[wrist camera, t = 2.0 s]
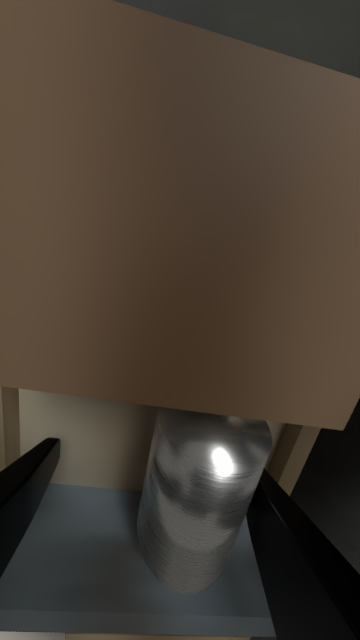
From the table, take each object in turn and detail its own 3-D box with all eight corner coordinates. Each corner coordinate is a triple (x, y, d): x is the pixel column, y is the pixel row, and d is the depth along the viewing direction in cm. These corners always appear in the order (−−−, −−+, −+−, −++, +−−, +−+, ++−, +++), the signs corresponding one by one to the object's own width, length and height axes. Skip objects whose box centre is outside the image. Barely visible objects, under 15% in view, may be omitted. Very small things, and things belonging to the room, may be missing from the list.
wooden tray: (389, 186, 7) (669, 86, 3) (231, 570, 13) (258, 708, 9) (-3, 83, 6) (-371, -303, 2) (16, 559, 11) (-66, 714, 7)
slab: (327, 196, 6) (496, 122, 3) (270, 360, 8) (343, 430, 5) (74, 132, 6) (-66, -57, 2) (66, 327, 7) (-25, 383, 4)
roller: (196, 371, 9) (282, 418, 7) (176, 457, 10) (243, 517, 8) (133, 409, 6) (250, 506, 4) (116, 522, 7) (198, 638, 5)
